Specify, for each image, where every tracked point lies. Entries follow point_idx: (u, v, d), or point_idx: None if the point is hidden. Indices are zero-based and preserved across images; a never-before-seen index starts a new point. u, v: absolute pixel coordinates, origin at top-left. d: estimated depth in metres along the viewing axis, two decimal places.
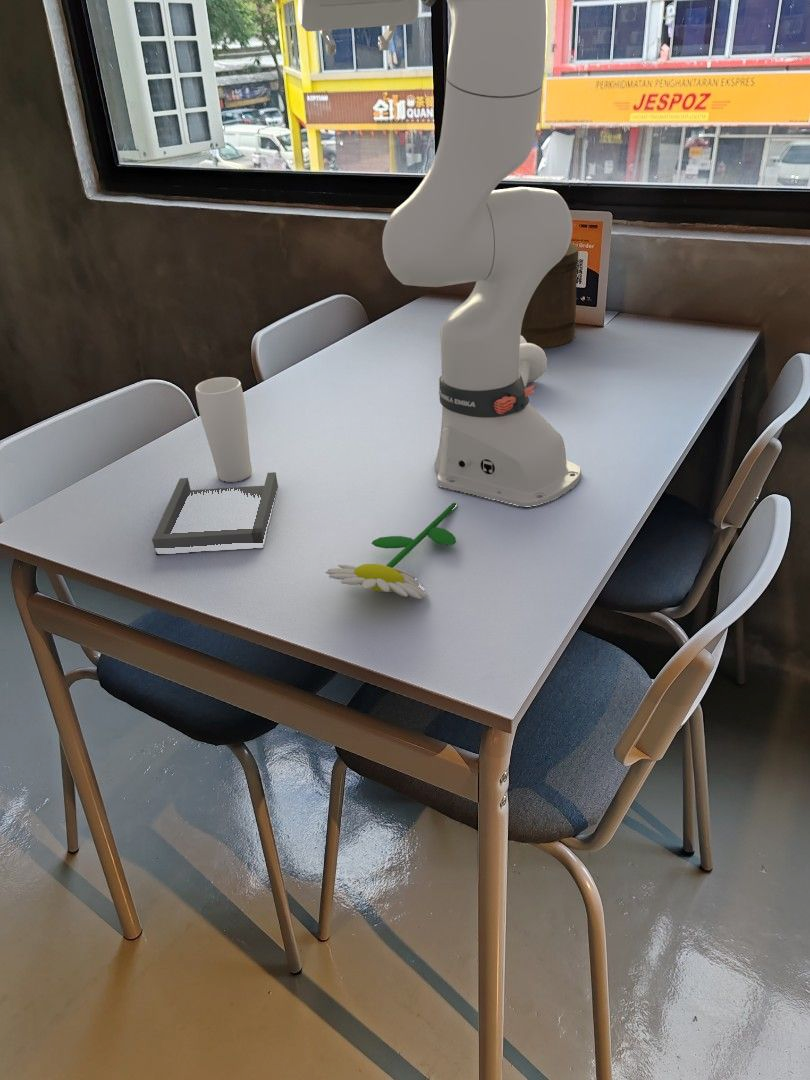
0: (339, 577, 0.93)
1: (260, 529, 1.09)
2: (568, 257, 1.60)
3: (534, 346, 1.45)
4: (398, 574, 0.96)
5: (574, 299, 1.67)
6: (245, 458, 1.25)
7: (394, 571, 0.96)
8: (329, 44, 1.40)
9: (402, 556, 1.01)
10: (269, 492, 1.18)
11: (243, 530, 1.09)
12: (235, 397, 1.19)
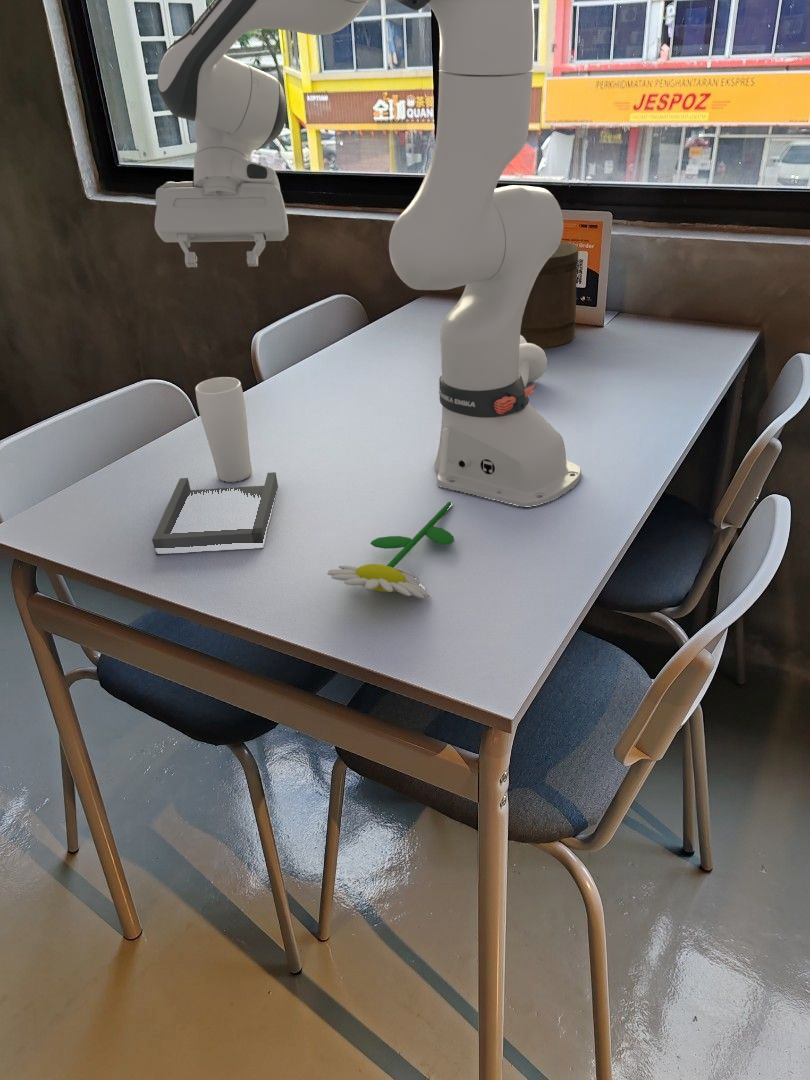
0: (341, 578, 0.93)
1: (260, 529, 1.09)
2: (568, 257, 1.60)
3: (534, 346, 1.45)
4: (400, 574, 0.96)
5: (574, 299, 1.67)
6: (245, 458, 1.25)
7: (396, 571, 0.96)
8: (186, 250, 1.26)
9: (402, 556, 1.01)
10: (269, 492, 1.18)
11: (243, 530, 1.09)
12: (235, 397, 1.19)
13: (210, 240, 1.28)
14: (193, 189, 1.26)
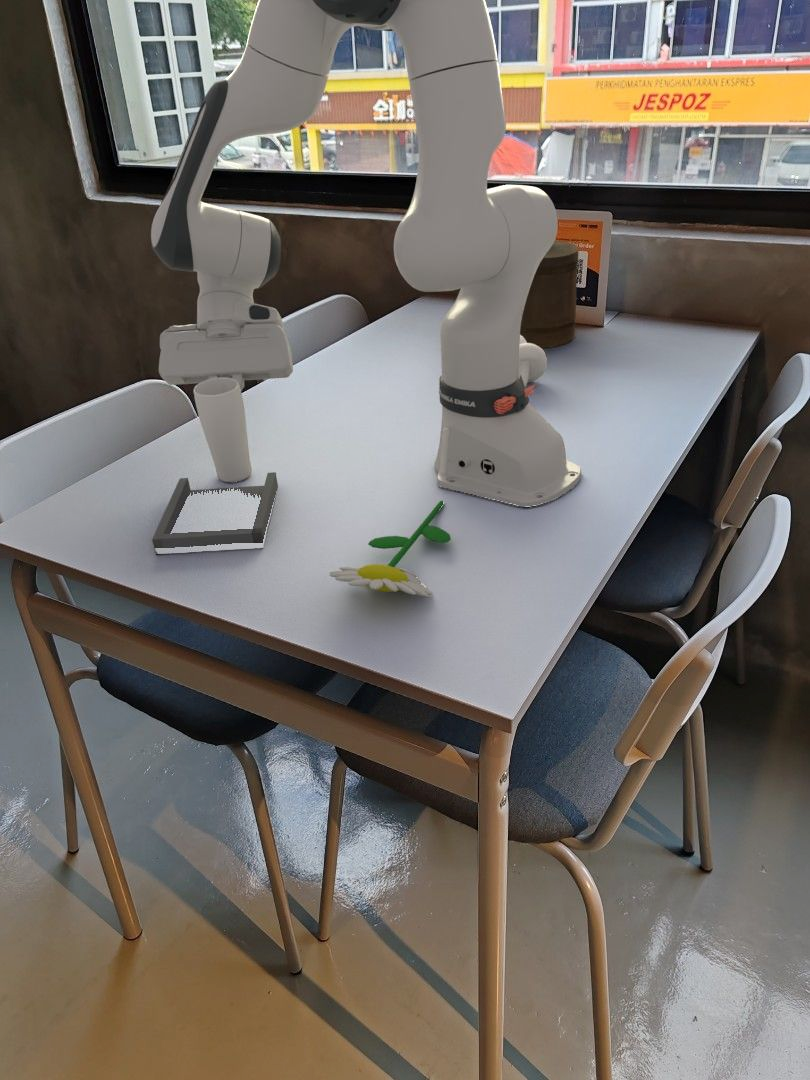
0: (345, 579, 0.93)
1: (260, 529, 1.09)
2: (568, 257, 1.60)
3: (534, 346, 1.45)
4: (402, 573, 0.96)
5: (574, 299, 1.67)
6: (245, 458, 1.25)
7: (398, 570, 0.96)
8: None
9: (401, 555, 1.01)
10: (269, 492, 1.18)
11: (243, 530, 1.09)
12: (234, 398, 1.19)
13: None
14: (196, 332, 1.26)
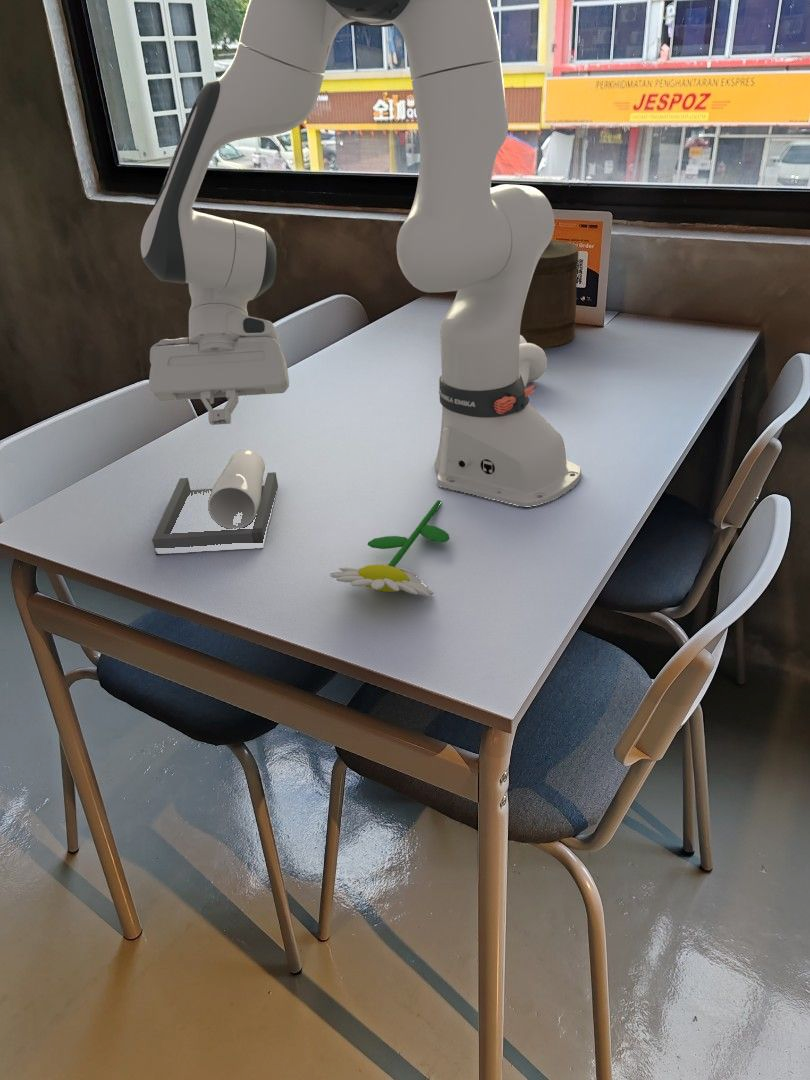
0: (346, 580, 0.93)
1: (260, 529, 1.09)
2: (568, 257, 1.60)
3: (534, 346, 1.45)
4: (403, 573, 0.96)
5: (574, 299, 1.67)
6: None
7: (399, 570, 0.96)
8: (209, 408, 1.20)
9: (401, 555, 1.01)
10: (269, 492, 1.18)
11: (243, 530, 1.09)
12: None
13: None
14: (188, 346, 1.21)
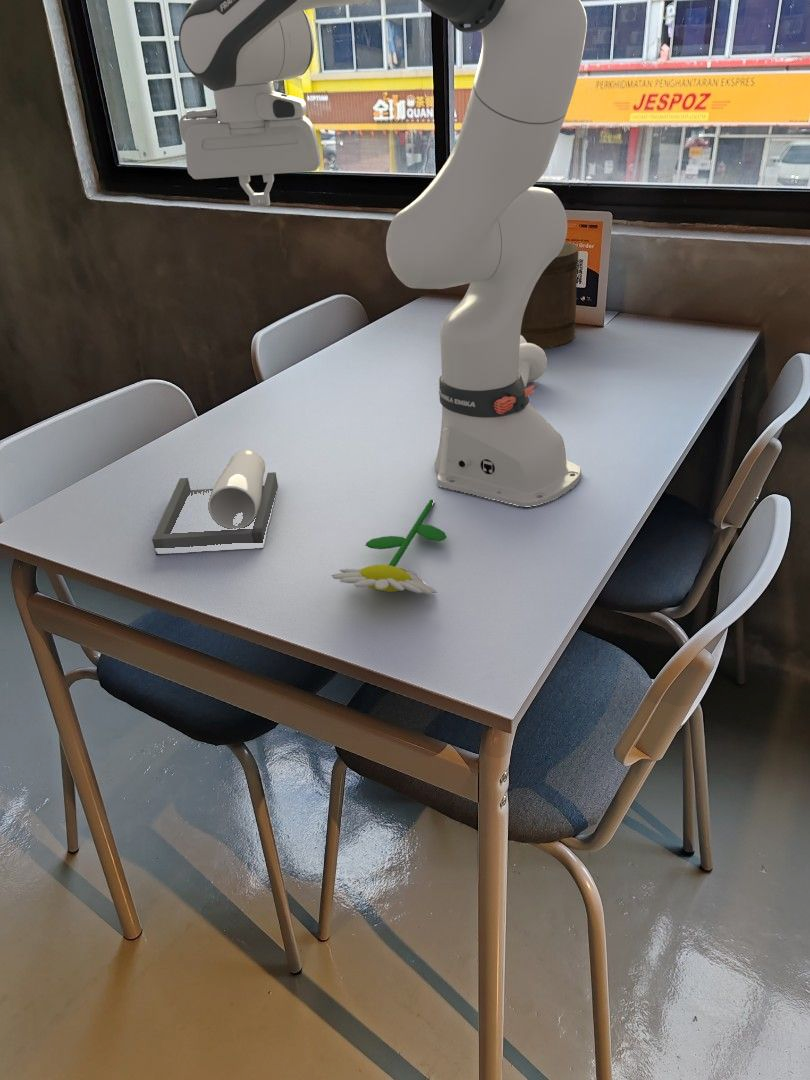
0: (350, 580, 0.92)
1: (260, 529, 1.09)
2: (568, 257, 1.60)
3: (534, 346, 1.45)
4: (405, 572, 0.96)
5: (574, 299, 1.67)
6: None
7: (400, 570, 0.96)
8: (250, 193, 1.27)
9: (400, 555, 1.01)
10: (269, 492, 1.18)
11: (243, 530, 1.09)
12: None
13: None
14: (219, 127, 1.22)
